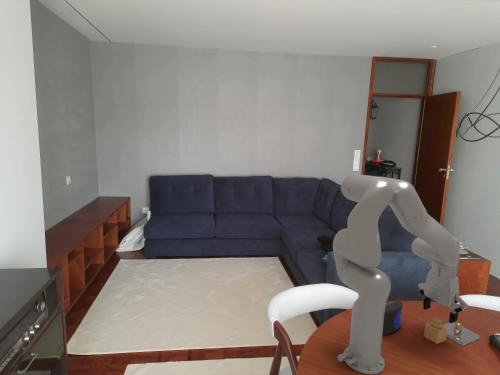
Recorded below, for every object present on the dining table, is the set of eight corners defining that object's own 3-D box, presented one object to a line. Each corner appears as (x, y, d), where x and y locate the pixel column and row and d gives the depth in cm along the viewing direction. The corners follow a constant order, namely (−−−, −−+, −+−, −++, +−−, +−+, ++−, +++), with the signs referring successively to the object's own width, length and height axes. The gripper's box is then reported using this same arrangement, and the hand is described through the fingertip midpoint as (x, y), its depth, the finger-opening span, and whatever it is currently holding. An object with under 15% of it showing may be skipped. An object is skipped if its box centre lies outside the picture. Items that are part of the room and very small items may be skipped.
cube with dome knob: (436, 344, 114) (439, 326, 113) (423, 336, 119) (426, 319, 117) (445, 340, 116) (448, 323, 115) (432, 332, 121) (434, 315, 120)
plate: (462, 345, 113) (464, 334, 113) (435, 330, 122) (437, 319, 122) (479, 338, 118) (481, 327, 117) (451, 324, 127) (453, 313, 126)
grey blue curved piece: (381, 340, 116) (384, 315, 114) (370, 333, 119) (372, 309, 118) (407, 326, 125) (410, 303, 123) (396, 320, 128) (398, 298, 127)
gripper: (414, 263, 119) (410, 306, 122) (462, 282, 104) (457, 331, 107) (427, 259, 123) (423, 301, 126) (476, 278, 107) (470, 325, 110)
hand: (439, 315), depth 116 cm, fingers open, 9 cm apart
